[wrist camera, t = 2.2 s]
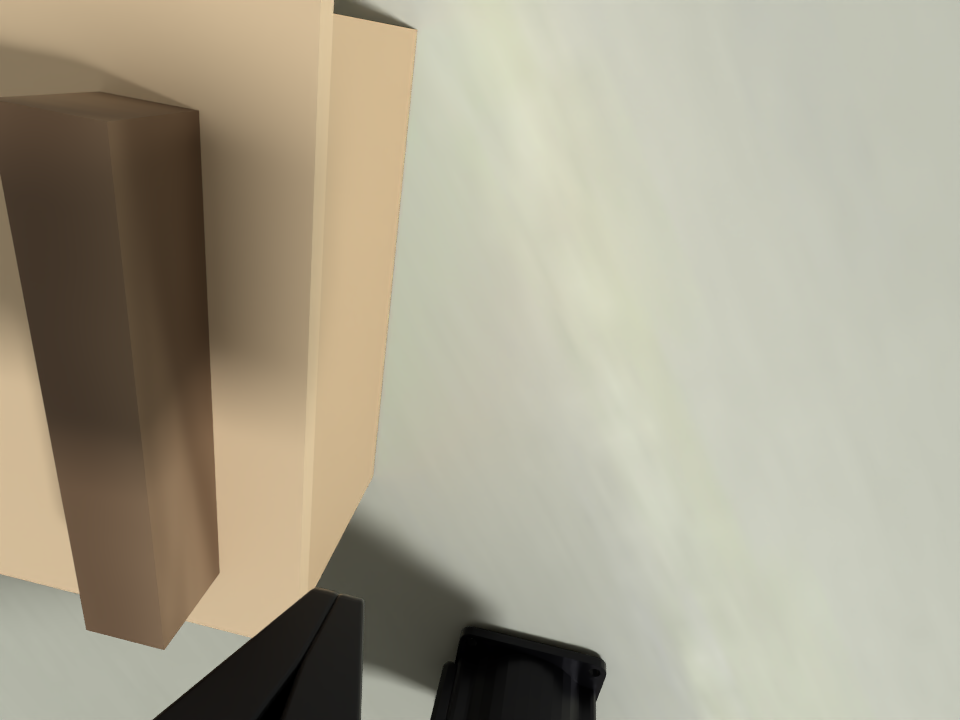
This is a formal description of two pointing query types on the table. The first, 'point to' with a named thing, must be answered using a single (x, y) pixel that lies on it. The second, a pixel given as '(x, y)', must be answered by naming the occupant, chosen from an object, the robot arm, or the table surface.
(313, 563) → the mailer box
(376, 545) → the table surface
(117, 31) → the mailer lid
